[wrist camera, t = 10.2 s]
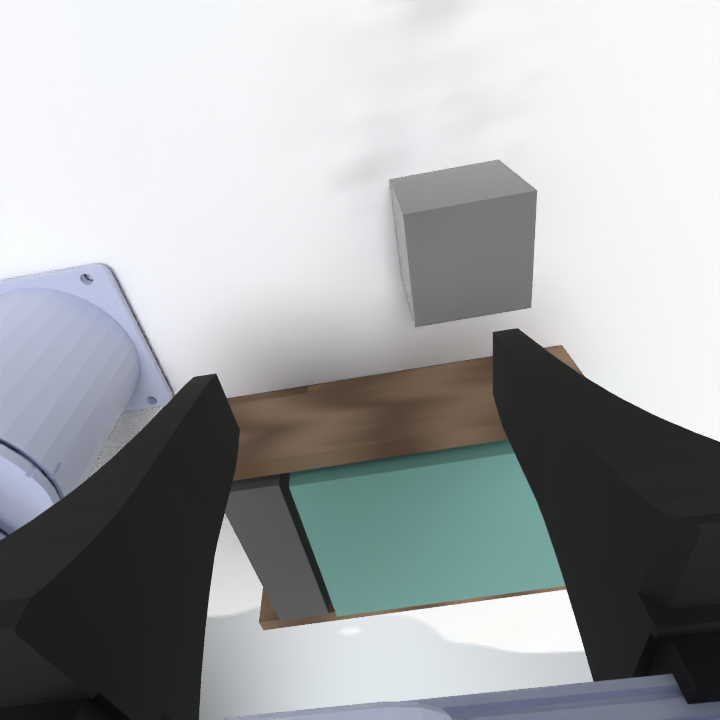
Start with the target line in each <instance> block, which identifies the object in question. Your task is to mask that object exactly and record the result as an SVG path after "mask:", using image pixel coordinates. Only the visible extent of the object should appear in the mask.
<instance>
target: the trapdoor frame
mask: <svg viewBox="0 0 720 720" xmlns="http://www.w3.org/2000/svg"><path fill="white" fill-rule="evenodd" d="M544 349H546V350H547V351H548V352H550V353H551V354H552V355H554V356H555V357H556V358H558V359H559V360H561V361H562V362H563V363H565V364H566V365H568V366H569V367H571V368H572V369H574V370H575V371H577V372H578V373H580V374H581V375H583V374H582V372H581V371H580V370H579V368H578V367H577V365H576V364H575V363H574V361H573V360H572V358H571V357H570V356H569V354H568V353H567V352H566V350H565V349H564V347H563V346H562V345H561V346H555V347H549V348H544ZM583 376H584V375H583ZM584 377H585V376H584ZM227 400H228V403H229V405H230V408H231V410H232V412H233V415H234V417H235V419H236V422H237V424H238V427H239V429H240V435H239V447H238V456H237V464H236V469H235V473H234V477H233V481H236V480H242V479H249V478H256V477H262V476H269V475H276V474H282V473H289V472H296V471H302V470H309V469H316V468H322V467H329V466H335V465H342V464H349V463H355V462H362V461H369V460H375V459H382V458H389V457H395V456H402V455H408V454H415V453H422V452H428V451H435V450H442V449H448V448H455V447H462V446H468V445H475V444H482V443H488V442H495V441H501V440H508V438H507V436H506V433H505V431H504V429H503V426H502V423H501V420H500V417H499V414H498V410H497V407H496V404H495V400H494V397H493V356H492V357H486V358H480V359H473V360H467V361H461V362H454V363H448V364H442V365H436V366H429V367H423V368H417V369H410V370H404V371H398V372H392V373H385V374H379V375H373V376H367V377H360V378H354V379H348V380H341V381H335V382H329V383H323V384H316V385H310V386H304V387H297V388H291V389H285V390H279V391H272V392H266V393H260V394H253V395H247V396H241V397H235V398H228V399H227ZM565 589H566V586H560V587H553V588H545V589H538V590H531V591H523V592H516V593H508V594H501V595H494V596H486V597H479V598H471V599H464V600H457V601H449V602H442V603H434V604H427V605H420V606H412V607H405V608H397V609H390V610H383V611H375V612H368V613H360V614H353V615H346V616H338V617H337V615H336V612H335V609H334V607H333V604H332V601H331V598H330V596H329V614H328V615H321V616H313V617H306V618H299V619H291V620H284V621H280V619H279V617H278V615H277V613H276V611H275V609H274V607H273V605H272V603H271V601H270V599H269V597H268V595H267V593H266V591H265V589H264V587H263V593H262V602H261V610H260V619H259V623H260V625H261V626H262V628H263V630H268V629H275V628H283V627H290V626H298V625H305V624H312V623H320V622H327V621H335V620H341V619H350V618H357V617H364V616H372V615H379V614H387V613H394V612H402V611H409V610H416V609H424V608H431V607H439V606H446V605H454V604H461V603H468V602H476V601H483V600H491V599H498V598H506V597H513V596H520V595H528V594H535V593H543V592H550V591H558V590H565Z"/></svg>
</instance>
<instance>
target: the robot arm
mask: <svg viewBox="0 0 720 720" xmlns="http://www.w3.org/2000/svg"><path fill="white" fill-rule="evenodd" d="M84 274H88V275H90V276H91V277H92V279H93V281H89V280H87V279H86V278H85V277H84ZM150 397H154V398H156V400H153V399H151V398H150ZM493 397H494V400H495V404H496V407H497V410H498V414H499V417H500V420H501V423H502V426H503V429H504V431H505V433H506V436H507V438H508V440H509V442H510V444H511V447H512V449H513V451H514V453H515V455H516V458H517V460H518V462H519V464H520V466H521V468H522V471H523V473H524V475H525V477H526V479H527V481H528V484H529V486H530V488H531V490H532V492H533V494H534V497H535V499H536V501H537V504H538V506H539V509H540V511H541V513H542V516H543V519H544V522H545V525H546V528H547V531H548V534H549V537H550V540H551V543H552V545H553V548H554V551H555V554H556V558H557V561H558V564H559V567H560V570H561V573H562V576H563V579H564V583H565V586H566V589H567V592H568V595H569V599H570V602H571V605H572V609H573V612H574V615H575V619H576V622H577V625H578V629H579V632H580V635H581V639H582V642H583V646H584V649H585V653H586V656H587V660H588V664H589V667H590V671H591V674H592V678H593V681H594V682H587V683H577V684H569V685H568V684H567V685H558V686H548V687H538V688H528V689H519V690H509V691H499V692H489V693H480V694H469V695H460V696H449V697H441V698H431V699H420V700H411V701H400V702H376V703H365V704H355V705H346V706H336V707H326V708H317V709H306V710H296V711H287V712H277V713H268V714H257V715H247V716H238V717H228V718H224V719H219V720H720V442H719V441H716V440H713V439H711V438H708V437H705V436H703V435H700V434H697V433H695V432H692V431H690V430H688V429H685V428H683V427H681V426H678V425H676V424H673V423H671V422H669V421H666V420H664V419H662V418H660V417H657V416H655V415H653V414H651V413H649V412H647V411H645V410H643V409H641V408H639V407H637V406H635V405H633V404H631V403H629V402H627V401H625V400H623V399H621V398H619V397H618V396H616V395H614V394H612V393H610V392H609V391H607V390H605V389H604V388H602V387H600V386H599V385H597V384H596V383H594V382H592V381H591V380H589V379H587V378H586V377H584V376H583V375H581V374H580V373H578V372H577V371H575V370H574V369H572V368H571V367H569V366H568V365H566V364H565V363H563V362H562V361H561V360H559V359H558V358H556V357H555V356H554V355H552V354H551V353H550V352H548V351H547V350H546V349H544V348H543V347H541V346H540V345H539V344H538V343H536V342H535V341H534V340H532V339H531V338H530V337H528V336H527V335H526V334H524V333H523V332H522V331H520V330H519V329H518V328H517V329H510V330H504V331H497V332H493ZM160 406H165V407H164V408H163V409H162V410H161V411H160V412H159V413H158V414H157V415H156V416H155V417H154V418H153V419H152V420H151V421H150V422H149V423H148V424H147V425H146V426H145V427H144V428H143V429H142V430H141V431H140V432H139V433H138V434H137V435H136V436H135V437H134V438H133V439H132V440H131V441H130V442H129V443H128V444H127V445H125V446H124V447H123V448H122V449H121V450H120V451H119V452H118V453H117V454H116V455H115V456H114V457H113V458H112V459H111V460H109V461H108V462H107V463H106V464H105V465H104V466H103V467H101V468H100V469H99V470H98V471H97V472H96V473H94V474H93V475H92V476H91V477H89V478H88V476H89V475H90V473H91V471H92V469H93V467H94V465H95V463H96V461H97V460H98V458H99V456H100V454H101V452H102V450H103V448H104V446H105V444H106V443H107V441H108V439H109V437H110V435H111V433H112V431H113V429H114V428H115V426H116V424H117V422H118V420H119V418H120V416H121V414H122V413H123V412H129V411H135V410H142V409H148V408H154V407H160ZM239 435H240V429H239V427H238V424H237V422H236V419H235V417H234V415H233V412H232V410H231V408H230V405H229V403H228V400H227V398H226V396H225V393H224V391H223V389H222V386H221V384H220V382H219V379H218V377H217V374H211V375H204V376H197V377H193V378H192V379H191V380H190V381H189V382H188V383H187V384H186V385H185V386H184V387H183V388H182V389H181V390H180V391H179V392H178V393H177V394H176V395H175V396H174V397H173V395H172V392H171V390H170V388H169V386H168V384H167V382H166V380H165V378H164V376H163V374H162V372H161V370H160V368H159V366H158V364H157V362H156V360H155V358H154V356H153V354H152V352H151V350H150V348H149V346H148V344H147V342H146V340H145V338H144V336H143V334H142V332H141V330H140V328H139V326H138V324H137V322H136V320H135V318H134V316H133V314H132V312H131V310H130V308H129V306H128V304H127V302H126V300H125V298H124V296H123V294H122V292H121V290H120V288H119V286H118V284H117V282H116V280H115V278H114V276H113V274H112V272H111V271H110V269H109V268H108V267H106V266H105V265H102V264H90V265H85V266H79V267H73V268H67V269H62V270H56V271H50V272H45V273H39V274H33V275H28V276H22V277H16V278H11V279H5V280H0V720H199V705H200V688H201V673H202V661H203V649H204V637H205V627H206V618H207V609H208V601H209V592H210V585H211V578H212V570H213V563H214V556H215V551H216V546H217V542H218V537H219V533H220V529H221V525H222V521H223V517H224V513H225V509H226V505H227V501H228V498H229V494H230V490H231V485H232V481H233V477H234V473H235V469H236V464H237V456H238V447H239ZM87 478H88V479H87Z"/></svg>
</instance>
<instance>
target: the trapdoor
mask: <svg viewBox="0 0 720 720" xmlns="http://www.w3.org/2000/svg"><path fill="white" fill-rule="evenodd" d="M225 514H226V516H227V518H228V519H229V521H230V523H231V525H232V527H233V529H234V531H235V533H236V535H237V537H238V539H239V541H240V543H241V545H242V547H243V549H244V551H245V552H246V554H247V556H248V558H249V560H250V562H251V564H252V566H253V568H254V570H255V572H256V574H257V576H258V578H259V580H260V582H261V584H262V586H263V587H264V589H265V591H266V593H267V595H268V597H269V599H270V601H271V603H272V605H273V607H274V609H275V611H276V613H277V615H278V617H279V619H280V621H284V620H291V619H299V618H306V617H313V616H321V615H328V614H329V596H330V598H331V601H332V604H333V607H334V609H335V612H336V615H337V617H338V616H346V615H353V614H360V613H368V612H375V611H383V610H390V609H397V608H405V607H412V606H420V605H427V604H434V603H442V602H449V601H457V600H464V599H471V598H479V597H486V596H494V595H501V594H508V593H516V592H523V591H531V590H538V589H545V588H553V587H560V586H565V583H564V579H563V576H562V573H561V570H560V567H559V564H558V561H557V558H556V554H555V551H554V548H553V545H552V543H551V540H550V537H549V534H548V531H547V528H546V525H545V522H544V519H543V516H542V513H541V511H540V509H539V506H538V504H537V501H536V499H535V497H534V494H533V492H532V490H531V488H530V486H529V484H528V481H527V479H526V477H525V475H524V473H523V471H522V468H521V466H520V464H519V462H518V460H517V458H516V455H515V453H514V451H513V449H512V447H511V444H510V442H509V440H501V441H495V442H488V443H482V444H475V445H468V446H462V447H455V448H448V449H442V450H435V451H428V452H422V453H415V454H408V455H402V456H395V457H389V458H382V459H375V460H369V461H362V462H355V463H349V464H342V465H335V466H329V467H322V468H316V469H309V470H302V471H296V472H289V473H282V474H276V475H269V476H262V477H256V478H249V479H242V480H236V481H232V485H231V490H230V494H229V498H228V501H227V505H226V509H225Z"/></svg>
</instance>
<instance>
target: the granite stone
mask: <svg viewBox="0 0 720 720" xmlns="http://www.w3.org/2000/svg"><path fill="white" fill-rule="evenodd" d="M389 181H390V189H391V197H392V205H393V213H394V221H395V229H396V238H397V246H398V254H399V262H400V270H401V278H402V281H403V285H404V289H405V292H406V296H407V299H408V303H409V306H410V310H411V313H412V317H413V320H414V324H415V327H418V326H424V325H430V324H436V323H442V322H448V321H454V320H460V319H466V318H472V317H478V316H484V315H490V314H496V313H502V312H508V311H514V310H520V309H526V308H531V299H532V279H533V259H534V240H535V220H536V200H537V190H536V189H535V188H533V187H532V186H531V185H530V184H528V183H527V182H526V181H525V180H523V179H522V178H521V177H520V176H518V175H517V174H516V173H515V172H513V171H512V170H511V169H510V168H508V167H507V166H506V165H505V164H503V163H502V162H501V161H500V160H494V161H488V162H483V163H477V164H472V165H466V166H461V167H455V168H450V169H444V170H439V171H433V172H428V173H422V174H417V175H411V176H406V177H400V178H395V179H389Z"/></svg>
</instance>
